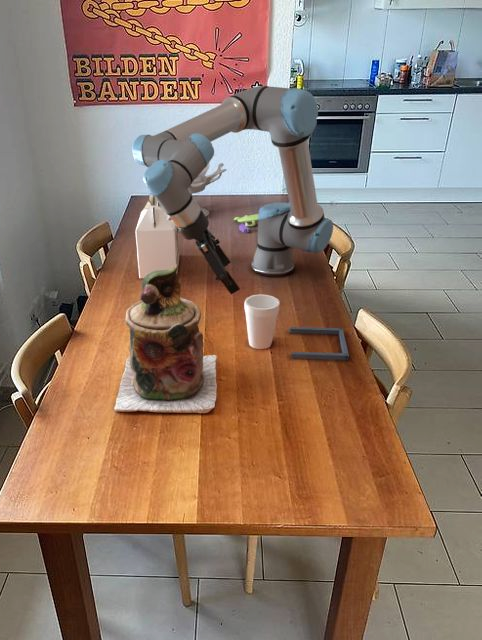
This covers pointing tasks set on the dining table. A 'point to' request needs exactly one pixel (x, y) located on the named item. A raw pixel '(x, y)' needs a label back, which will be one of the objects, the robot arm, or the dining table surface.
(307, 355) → the bay
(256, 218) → the toy airplane
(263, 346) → the foam cup
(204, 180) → the candelabra
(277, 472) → the dining table surface
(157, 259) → the gable box
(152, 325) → the cookie jar
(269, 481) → the dining table surface
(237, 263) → the dining table surface
